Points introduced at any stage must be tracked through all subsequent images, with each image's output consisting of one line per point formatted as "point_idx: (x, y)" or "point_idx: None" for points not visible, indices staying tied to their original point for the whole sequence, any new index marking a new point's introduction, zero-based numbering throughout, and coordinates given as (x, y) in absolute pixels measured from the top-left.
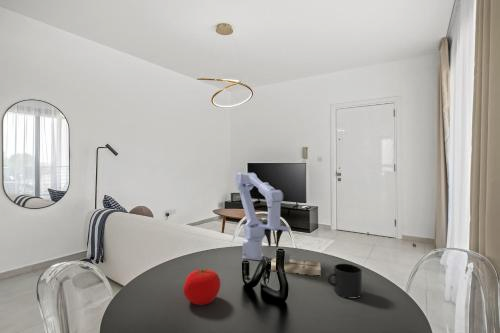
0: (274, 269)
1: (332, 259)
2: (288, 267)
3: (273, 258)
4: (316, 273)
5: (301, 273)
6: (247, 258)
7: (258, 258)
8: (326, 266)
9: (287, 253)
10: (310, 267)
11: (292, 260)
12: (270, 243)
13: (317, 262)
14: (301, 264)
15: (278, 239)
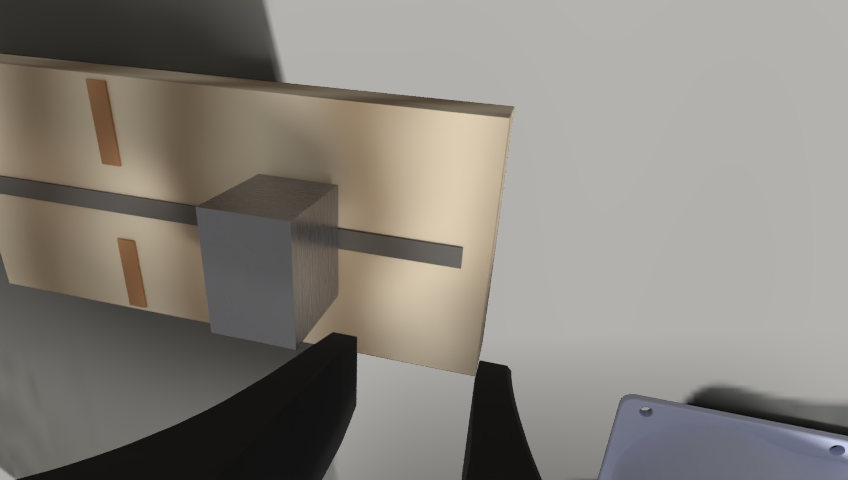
0: (443, 102)
1: (21, 435)
2: (260, 89)
3: (463, 352)
4: (11, 58)
5: (158, 71)
6: (800, 429)
7: (650, 424)
8: (21, 296)
9: (237, 301)
10: (46, 129)
11: None
12: (467, 437)
13: (29, 281)
14: (141, 197)
15: (216, 414)
